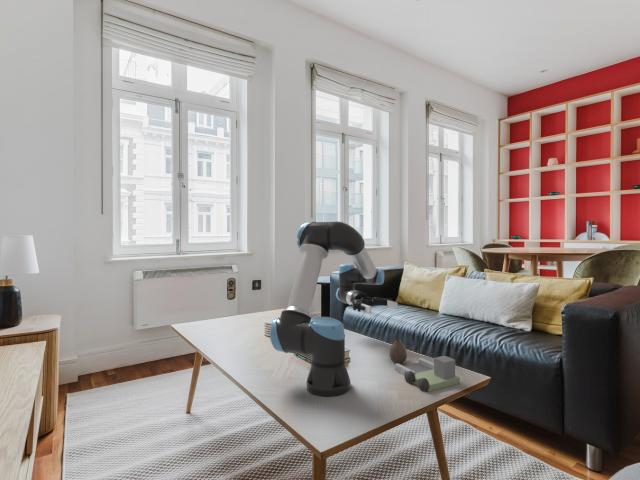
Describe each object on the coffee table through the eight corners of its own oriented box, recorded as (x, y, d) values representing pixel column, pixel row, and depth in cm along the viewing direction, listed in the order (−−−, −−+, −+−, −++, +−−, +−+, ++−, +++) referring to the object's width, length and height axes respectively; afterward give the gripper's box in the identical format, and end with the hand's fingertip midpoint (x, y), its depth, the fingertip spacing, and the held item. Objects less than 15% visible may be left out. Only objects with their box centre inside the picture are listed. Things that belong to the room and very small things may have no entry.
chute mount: (394, 370, 147) (394, 364, 147) (421, 364, 153) (421, 358, 153) (412, 379, 138) (412, 372, 138) (439, 372, 144) (439, 366, 144)
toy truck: (404, 381, 137) (404, 358, 137) (437, 372, 144) (437, 351, 144) (425, 393, 127) (425, 369, 127) (460, 383, 134) (460, 360, 134)
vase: (407, 365, 151) (407, 343, 151) (389, 365, 153) (389, 343, 152) (407, 359, 158) (406, 338, 158) (389, 358, 160) (389, 337, 159)
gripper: (379, 303, 188) (407, 313, 169) (334, 310, 177) (358, 320, 158) (379, 288, 187) (407, 295, 168) (333, 294, 177) (358, 302, 157)
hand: (383, 307), depth 163 cm, fingers open, 13 cm apart
